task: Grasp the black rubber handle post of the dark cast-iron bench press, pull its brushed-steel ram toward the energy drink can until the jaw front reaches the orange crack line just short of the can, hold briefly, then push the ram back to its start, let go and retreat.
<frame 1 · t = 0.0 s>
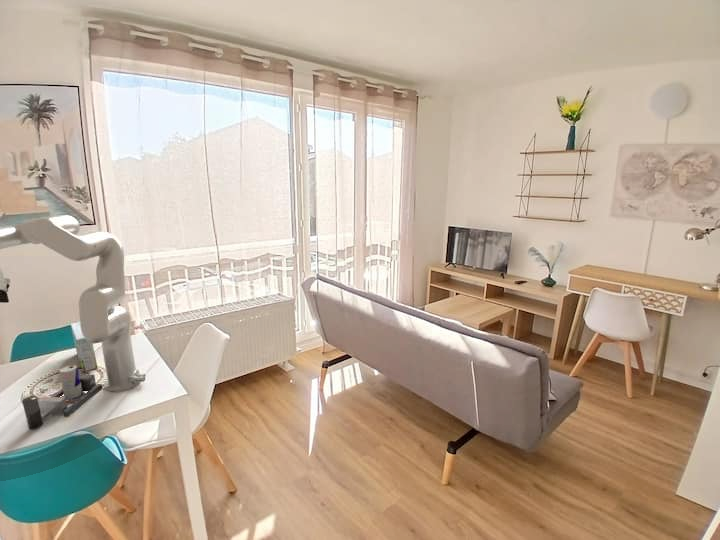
press: (65, 404, 135), on the table
snack box: (86, 361, 165), on the table
ram: (41, 406, 125), point 5 cm above the table, slide at 0.0 cm
energy drink: (74, 398, 139), resting in press
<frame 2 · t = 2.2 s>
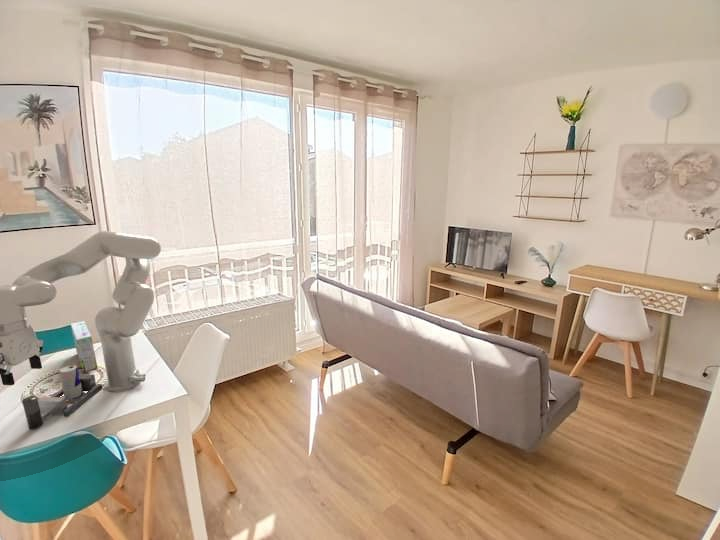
hand: (23, 376, 118), 18 cm above the table, fingers open, 9 cm apart
nothing on the table moved.
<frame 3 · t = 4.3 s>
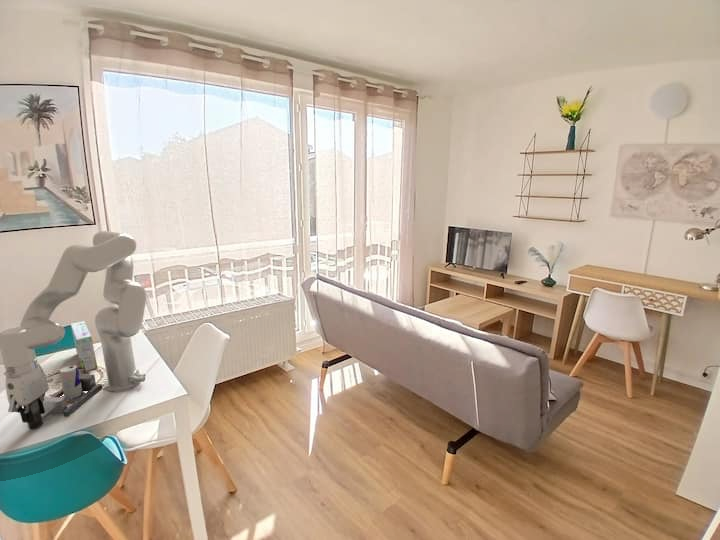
hand: (33, 417, 122), 4 cm above the table, fingers closed on ram, 3 cm apart
ram: (41, 406, 125), point 5 cm above the table, slide at 0.0 cm, touching gripper
everything else where it was.
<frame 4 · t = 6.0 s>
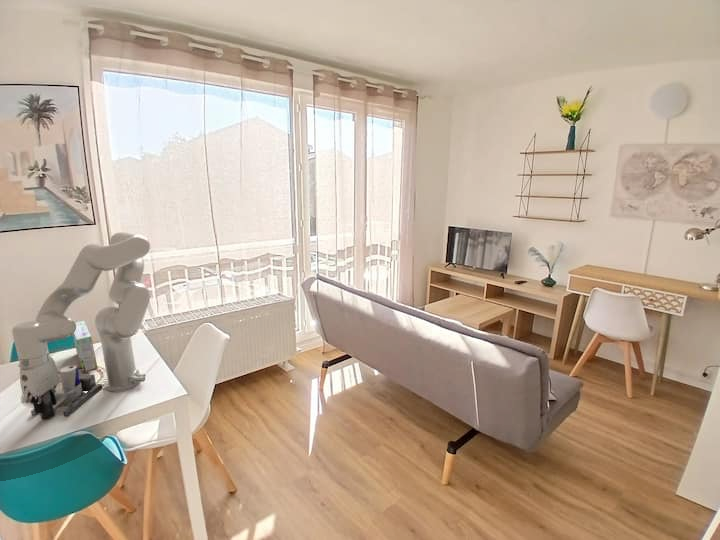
hand: (46, 408, 127), 4 cm above the table, fingers closed on ram, 3 cm apart
ram: (53, 397, 129), point 5 cm above the table, slide at 4.8 cm, touching gripper
everything else where it was.
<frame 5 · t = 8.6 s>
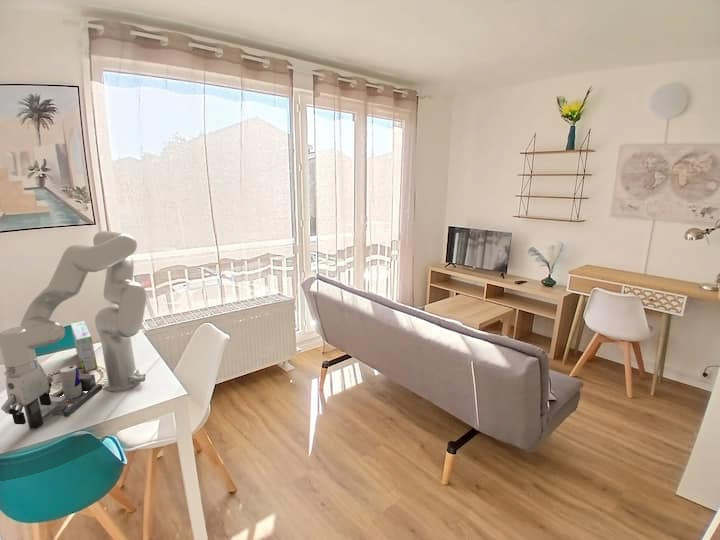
hand: (33, 413, 122), 5 cm above the table, fingers open, 9 cm apart
ram: (41, 405, 125), point 5 cm above the table, slide at 0.1 cm
everything else where it was.
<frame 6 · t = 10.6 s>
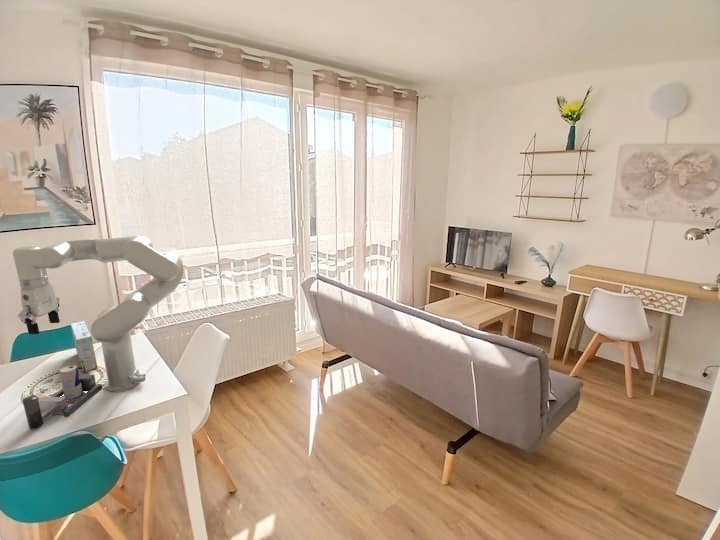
hand: (44, 328, 135), 26 cm above the table, fingers open, 9 cm apart
nothing on the table moved.
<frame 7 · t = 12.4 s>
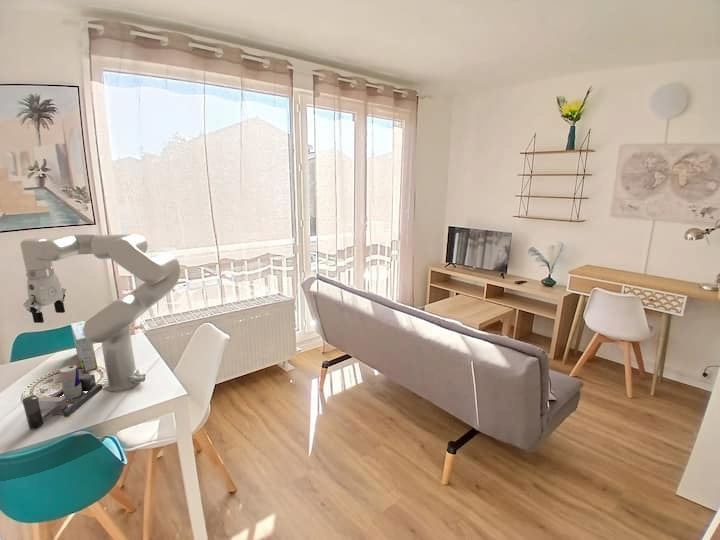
hand: (50, 317, 140), 28 cm above the table, fingers open, 9 cm apart
nothing on the table moved.
at the end: ram slide at 0.1 cm; energy drink moved 0.2 cm from its start; energy drink tilted 0° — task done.
